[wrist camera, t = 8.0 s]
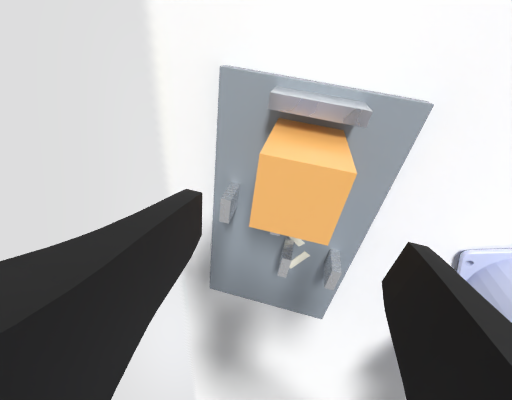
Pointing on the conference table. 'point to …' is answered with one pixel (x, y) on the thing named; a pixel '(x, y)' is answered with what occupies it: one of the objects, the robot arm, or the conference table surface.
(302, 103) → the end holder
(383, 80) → the conference table surface
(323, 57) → the conference table surface
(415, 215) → the conference table surface
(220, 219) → the clips
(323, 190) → the block
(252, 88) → the board
